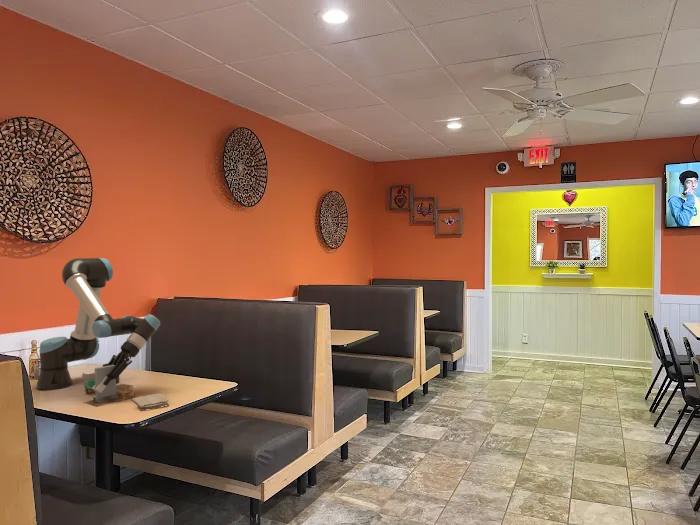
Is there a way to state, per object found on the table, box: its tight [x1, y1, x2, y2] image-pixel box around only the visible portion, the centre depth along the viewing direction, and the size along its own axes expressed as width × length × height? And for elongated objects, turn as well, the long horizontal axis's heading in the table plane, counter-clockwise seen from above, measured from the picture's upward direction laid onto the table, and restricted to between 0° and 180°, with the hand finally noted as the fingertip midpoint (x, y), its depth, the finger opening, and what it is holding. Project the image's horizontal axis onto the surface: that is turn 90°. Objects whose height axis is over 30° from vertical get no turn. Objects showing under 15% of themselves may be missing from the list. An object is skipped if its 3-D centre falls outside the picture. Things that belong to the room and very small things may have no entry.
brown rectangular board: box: [82, 394, 137, 408], centre depth 225 cm, size 18×12×3 cm, turn 142°
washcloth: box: [130, 392, 170, 411], centre depth 221 cm, size 12×18×3 cm, turn 37°
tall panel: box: [94, 365, 117, 402], centre depth 224 cm, size 8×2×14 cm, turn 141°
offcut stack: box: [116, 383, 135, 399], centre depth 230 cm, size 5×8×5 cm
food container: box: [81, 372, 95, 395], centre depth 238 cm, size 12×6×10 cm, turn 105°
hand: (96, 390), depth 221 cm, fingers closed on tall panel, 2 cm apart
